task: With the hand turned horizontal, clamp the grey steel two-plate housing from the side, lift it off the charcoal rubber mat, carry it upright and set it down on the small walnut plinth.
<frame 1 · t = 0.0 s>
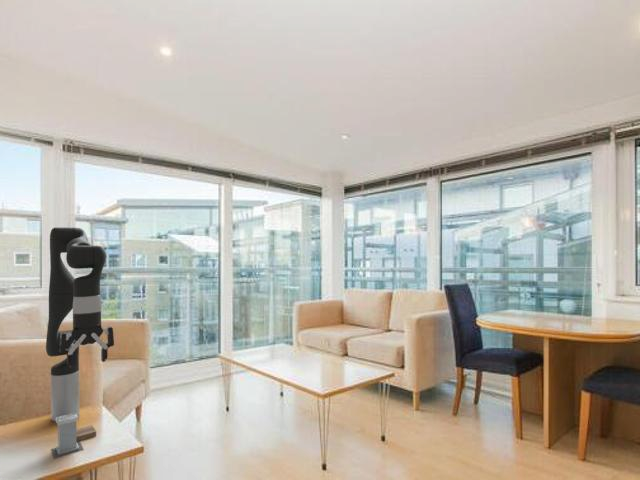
hand: (87, 364, 123), 29 cm above the table, tool pointing down, fingers open, 8 cm apart
housing: (67, 449, 127), point 1 cm above the table, touching mat
mat: (67, 452, 127), on the table
plinth: (82, 438, 137), on the table
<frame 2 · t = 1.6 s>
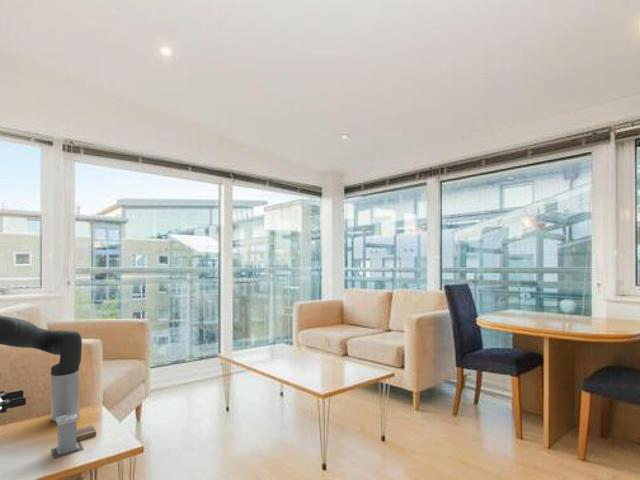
hand: (24, 397, 121), 20 cm above the table, tool horizontal, fingers open, 8 cm apart
nothing on the table moved.
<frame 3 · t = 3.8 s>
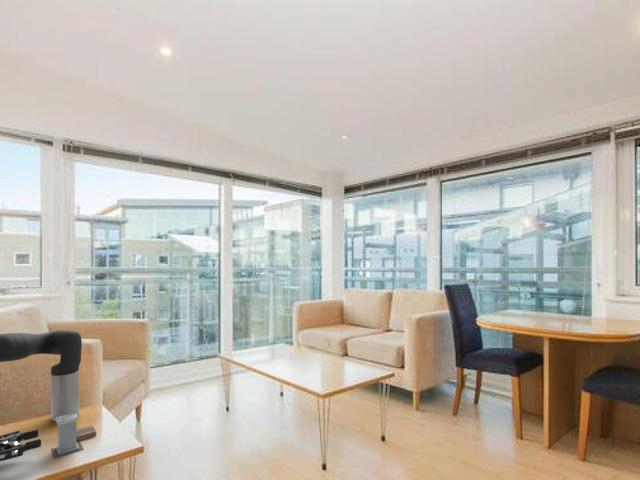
hand: (39, 437, 123), 7 cm above the table, tool horizontal, fingers open, 8 cm apart
nothing on the table moved.
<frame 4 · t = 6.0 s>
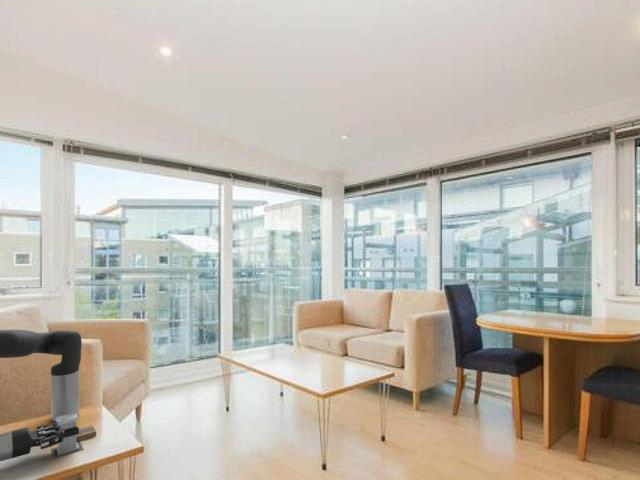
hand: (76, 427, 129), 7 cm above the table, tool horizontal, fingers closed on housing, 4 cm apart
housing: (67, 449, 127), point 1 cm above the table, touching gripper, mat
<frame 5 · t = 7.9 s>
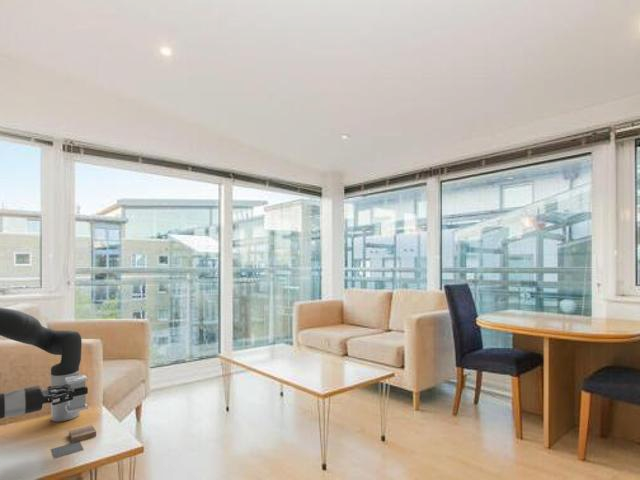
hand: (85, 388, 135), 18 cm above the table, tool horizontal, fingers closed on housing, 4 cm apart
housing: (76, 408, 133), point 12 cm above the table, touching gripper
when the fingers open (10 cm above the table, at t = 10.1 s): housing drops 1 cm, resting on plinth.
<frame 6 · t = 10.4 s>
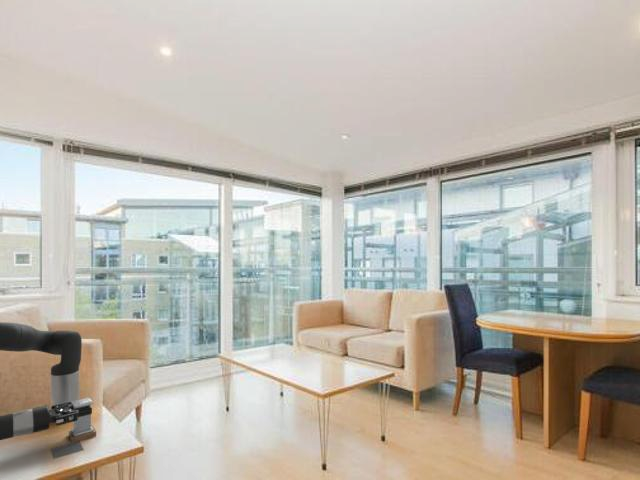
hand: (89, 407, 139), 10 cm above the table, tool horizontal, fingers open, 7 cm apart
housing: (82, 431, 137), point 2 cm above the table, touching plinth
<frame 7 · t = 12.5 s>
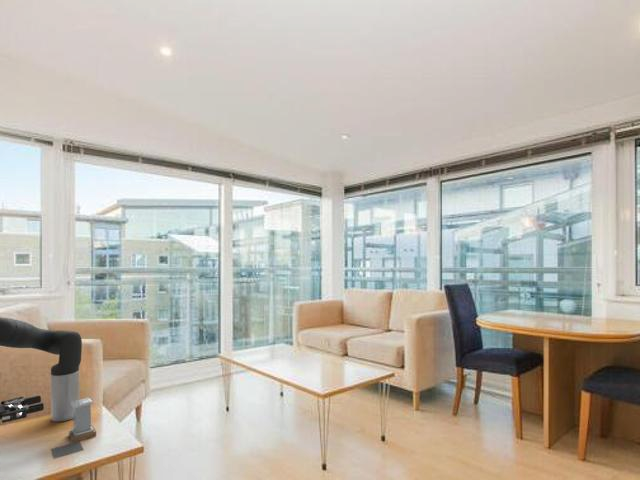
hand: (42, 402, 130), 15 cm above the table, tool horizontal, fingers open, 8 cm apart
nothing on the table moved.
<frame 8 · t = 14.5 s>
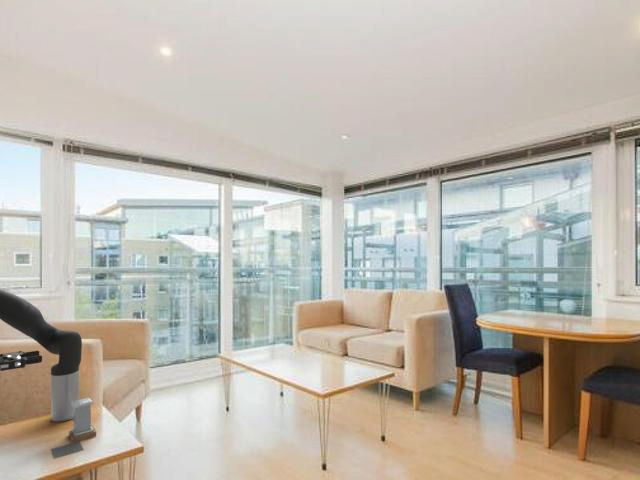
hand: (40, 356, 130), 30 cm above the table, tool horizontal, fingers open, 8 cm apart
nothing on the table moved.
at the end: housing 0.1 cm off-centre on the plinth, point 2.5 cm above the plinth's base; housing tilted 0°; the gripper is holding nothing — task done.
